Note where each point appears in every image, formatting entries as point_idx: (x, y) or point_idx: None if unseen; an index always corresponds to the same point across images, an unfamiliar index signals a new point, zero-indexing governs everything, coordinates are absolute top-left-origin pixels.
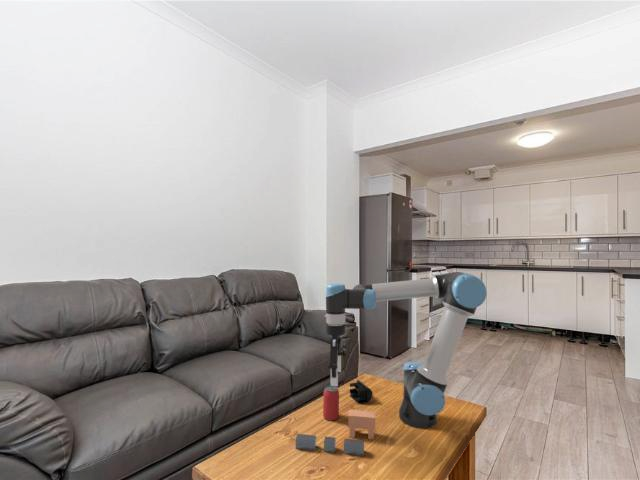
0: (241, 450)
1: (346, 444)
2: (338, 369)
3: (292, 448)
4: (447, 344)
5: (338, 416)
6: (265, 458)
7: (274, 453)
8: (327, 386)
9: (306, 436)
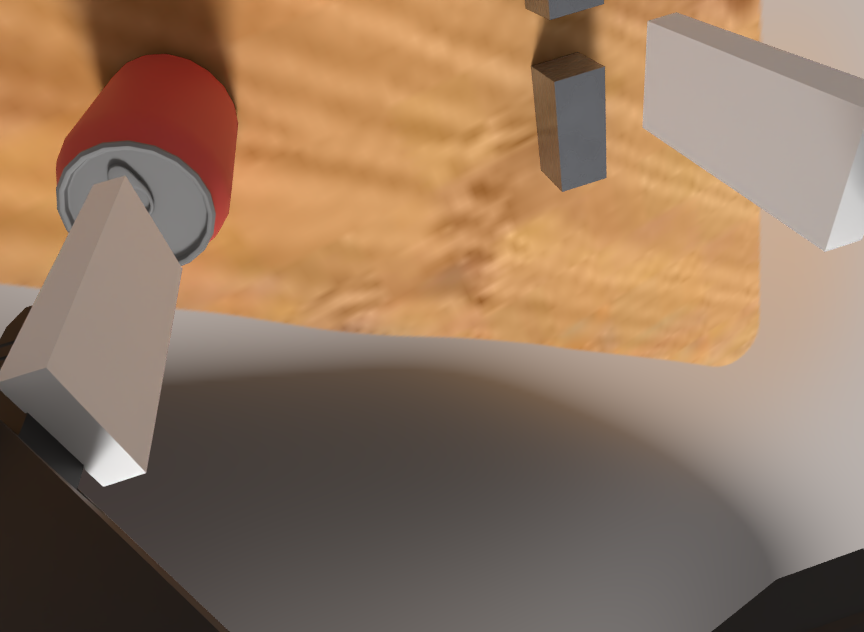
0: (634, 333)
1: None
2: (144, 233)
3: None
4: None
5: (153, 55)
6: (668, 234)
7: (632, 222)
8: None
9: (574, 134)
